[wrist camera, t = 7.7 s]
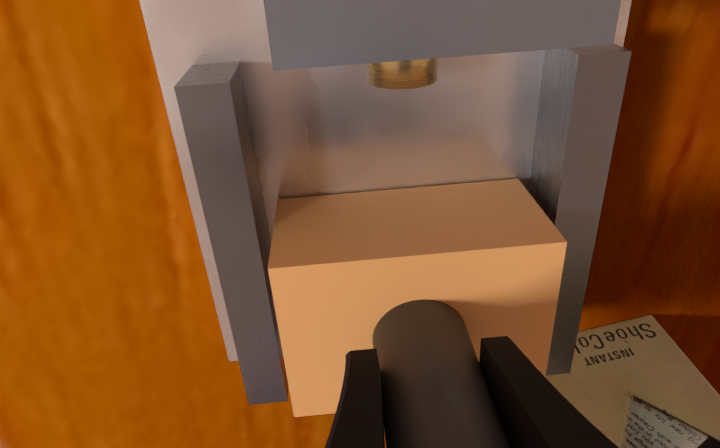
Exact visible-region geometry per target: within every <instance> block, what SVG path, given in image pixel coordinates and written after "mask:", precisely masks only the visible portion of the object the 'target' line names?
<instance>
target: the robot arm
mask: <svg viewBox="0 0 720 448" xmlns="http://www.w3.org/2000/svg"><path fill="white" fill-rule="evenodd" d="M479 364H480V366H481V369H482V372H483V375H484V377H485V380H486V383H487V386H488V388H489V391H490V394H491V396H492V399H493V402H494V405H495V407H496V410H497V413H498V415H499V418H500V421H501V424H502V426H503V429H504V432H505V434H506V437H507V440H508V443H509V445H510V448H619V447H618V446H617V445H615V444H614V443H613V442H612V441H611V440H610V439H608V438H607V437H606V436H605V435H604V434H603V433H602V432H601V431H600V430H599V429H597V428H596V427H595V426H594V425H593V424H592V423H591V422H590V421H589V420H588V419H587V418H585V417H584V416H583V415H582V414H581V413H580V412H579V411H578V410H577V409H576V408H575V407H574V406H573V405H572V404H571V403H570V402H569V401H568V400H567V399H566V398H565V397H564V396H563V395H562V394H561V393H560V392H559V391H558V390H557V389H556V388H555V387H554V386H553V385H552V384H551V383H550V382H549V381H548V380H547V379H546V377H545V376H544V375H543V374H542V373H541V372H540V371H539V370H538V369H537V368H536V367H535V366H534V365H533V363H532V362H531V361H530V360H529V359H528V358H527V357H526V356H525V355H524V353H523V352H522V351H521V350H520V349H519V348H518V347H517V345H516V344H515V343H514V342H513V341H512V340H511V339H510V338H509V337H508V336H500V337H489V338H481V344H480V358H479ZM325 448H385V442H384V424H383V406H382V387H381V371H380V366H379V360H378V354H377V349H376V348H374V349H364V350H353V351H349V352H348V353H347V354H346V363H345V373H344V379H343V385H342V390H341V394H340V399H339V403H338V406H337V410H336V414H335V417H334V421H333V424H332V428H331V431H330V434H329V437H328V440H327V443H326V446H325Z"/></svg>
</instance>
